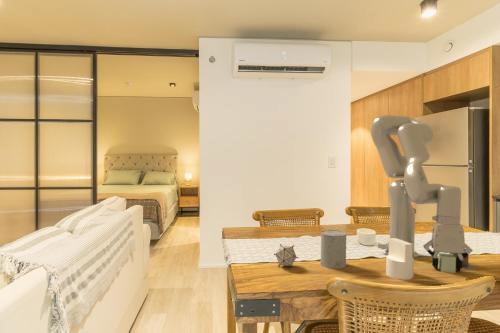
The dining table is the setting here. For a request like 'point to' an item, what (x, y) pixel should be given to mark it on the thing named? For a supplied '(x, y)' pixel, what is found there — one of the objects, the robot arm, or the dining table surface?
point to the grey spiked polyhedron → (285, 255)
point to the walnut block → (465, 260)
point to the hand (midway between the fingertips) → (446, 268)
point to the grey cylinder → (333, 249)
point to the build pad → (469, 267)
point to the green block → (447, 262)
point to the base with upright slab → (400, 260)
